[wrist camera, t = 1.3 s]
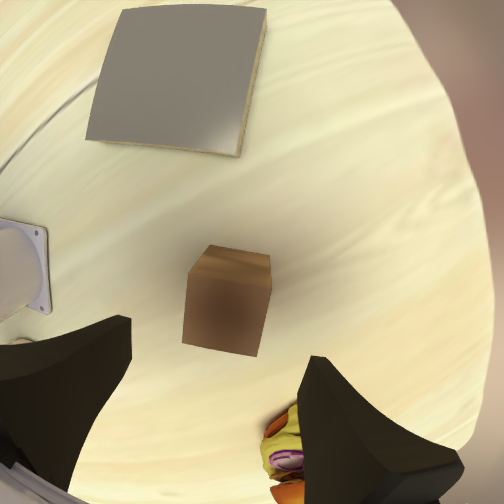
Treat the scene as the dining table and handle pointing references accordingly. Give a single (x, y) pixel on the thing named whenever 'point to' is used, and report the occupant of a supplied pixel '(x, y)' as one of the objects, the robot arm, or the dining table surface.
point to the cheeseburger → (285, 458)
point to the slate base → (179, 77)
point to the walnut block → (227, 300)
